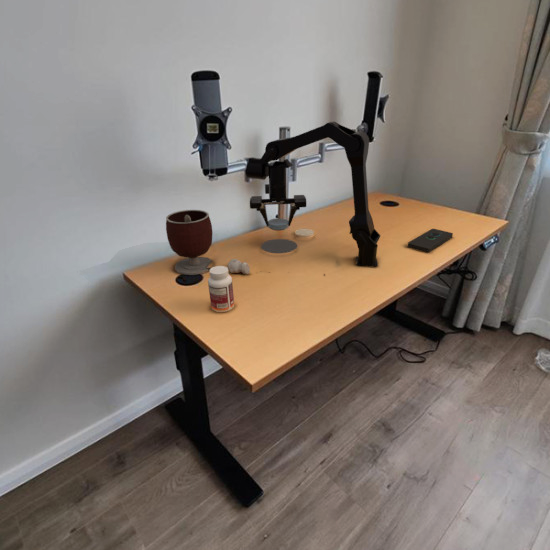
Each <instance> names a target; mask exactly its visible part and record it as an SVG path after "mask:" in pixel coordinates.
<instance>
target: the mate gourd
mask: <svg viewBox="0 0 550 550" xmlns="http://www.w3.org/2000/svg"><path fill="white" fill-rule="evenodd" d="M165 232H166V237H167V241H168V244H169V247H170V249H171V250H172V251H173V252H174V253H175V254H176V255H177V256H179V257H182V258H184V259H182V260H181V259H180V261H178V262H177V263H175V266H174V268H175V271H176V272H177V273H178V274H181V275H184V276H196V275H201V274H205V273H207V272H210V269H211V268H212V267H209V266H210V265H211V263H212V262H213V260H212V259H211V258H209V257H205V256H203V255H205V254H207V253H208V251H209V250H210V248H211V246H212V244H213V225H212V222H211V218H210V214H209V212H208V211H205V210H201V209H184V210H178V211H174V212H172V213H169V214H168V215H167V216H166V217H165Z"/></svg>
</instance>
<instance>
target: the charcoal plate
mask: <svg viewBox="0 0 550 550" xmlns="http://www.w3.org/2000/svg"><path fill="white" fill-rule="evenodd" d="M297 248H298V243H297V242H295V241H293V240H291V239H286V238H275V239H268V240H266V241H264V242H263V243H261V245H260V249H261V250H262V251H264V252H267V253H271V254H286V253H291V252H293V251H295V250H296V249H297Z"/></svg>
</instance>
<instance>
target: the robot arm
mask: <svg viewBox="0 0 550 550" xmlns="http://www.w3.org/2000/svg"><path fill="white" fill-rule="evenodd" d="M328 138H329V139H330V140H332V141H334V143H336V145H338V146H340V147H342V148H343V149H344V151H345V155H346V159H347V161H348V163H349V165H350V170H351V171H350V173H351V183H352V197H353V208H354V215H352V217H351V218H350V219H349V221H348V225H349V232H348V233H349V235H351V238H352V240H353V241H355V242H356V246H357V249H358V252H357V255H356V256H355V259H356V266H358V267H375V268H376V267H377V268H378V266H379V265H378V259H377V253H378V247H379V246H378V242H379V240H380V238H381V234H380V233H379V232H378V230H376V229H375V224H374V220H373V217H372V214H371V212H370V209H369V208H370V207H369V194H368V193H369V192H368V178H367V160H368V156H369V155H368V154H369V148H370V137H369V135H368V134H367V133H366V132H364V131H356V130H353V129H351V128H349V127H346V126H344V125H342V124H340V123H338V122H337V121H335V120H334V121H330V122H326V123H325V124H323V125H321V126H318V127H315V128H312V129H309V130H308V131H306V132H303V133H300V134H298V135H295V136H291V137H283V138H278V139H274V140H272V141H269V142H267V143H266V145H265V149H264V150H265V151H264V152H263V154H262V156H261V157H260V158H259V157H258V158H257V157H253V156H252V157H248V158H247V159H248V160H247V164H246V167H245V170H244V171H245V176H246V178H247V179H250V180H260V181H261V180H262V181H265V180H266V179H267V178H268V183H266V184H264V193H265V195H268V198H263V196H262V195H251V197H249V209H250V210H254V209H255V210H256V211H257V212H259V213H260V215H261V216H262V218H263V220H264V223H265V225H266V227H267V228H268V221H269V219H268V214H267V205H270V206H272V205H289V213H288V221H289V227H290V226H291V224H292V221H293V218H294V216H295V214H296V213H297V211H299V210H301V208H307V197H306V195H305V194H294V195H293V197H289V198H287V169H289V168H291V167H293V163H292V162H291V161H290V160H289V159H288V158H285V157H286V156H288V155H290V154H291V153H293V152H295V151H296V150H298V149H300V148H304V147H306V146H308V145H309V146H310V145H312V144H314V143H316V142H319V141H322V140H325V139H328ZM283 158H285V159H284V160H280V159H283ZM271 162H273V163H271Z"/></svg>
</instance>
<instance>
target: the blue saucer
mask: <svg viewBox="0 0 550 550" xmlns="http://www.w3.org/2000/svg"><path fill="white" fill-rule="evenodd" d="M289 227H290V226H289V219H287V218H286V219H285V218H279V217H278V218H272V219H268V227H267V228H268V229H269V230H272V231H276V232H277V231H278V232H279V231H284V230H286V229H288V228H289Z"/></svg>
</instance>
